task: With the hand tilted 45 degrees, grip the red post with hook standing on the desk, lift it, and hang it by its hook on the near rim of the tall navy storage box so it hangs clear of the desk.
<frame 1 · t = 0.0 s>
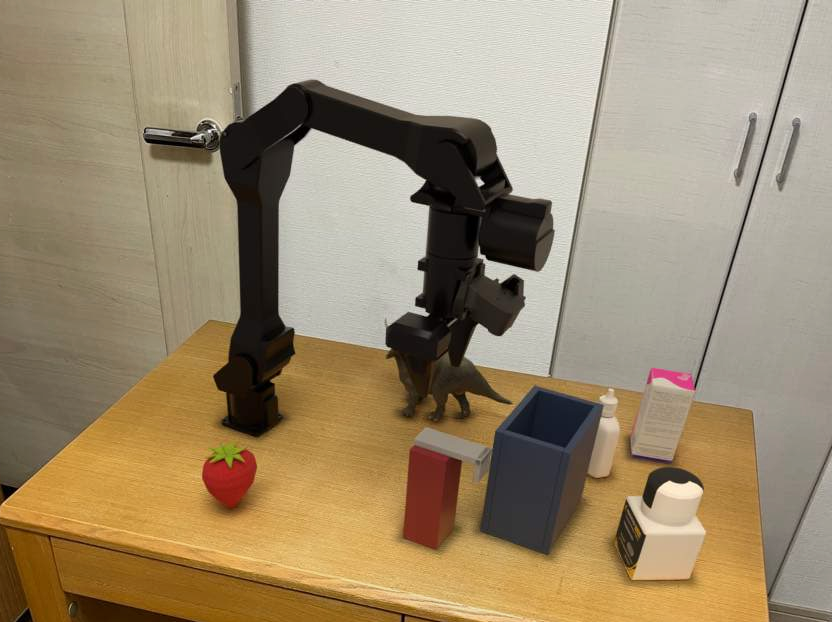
hand: (439, 381, 97), 15 cm above the table, tool pointing down, fingers open, 9 cm apart
strawberry: (233, 507, 99), on the table
red post with hook: (428, 532, 97), on the table
supplement box: (650, 452, 115), on the table
toy dinosaur: (435, 413, 120), on the table
medicine bottle: (649, 562, 95), on the table
storage box: (531, 515, 101), on the table
eye dropper bottle: (591, 469, 111), on the table
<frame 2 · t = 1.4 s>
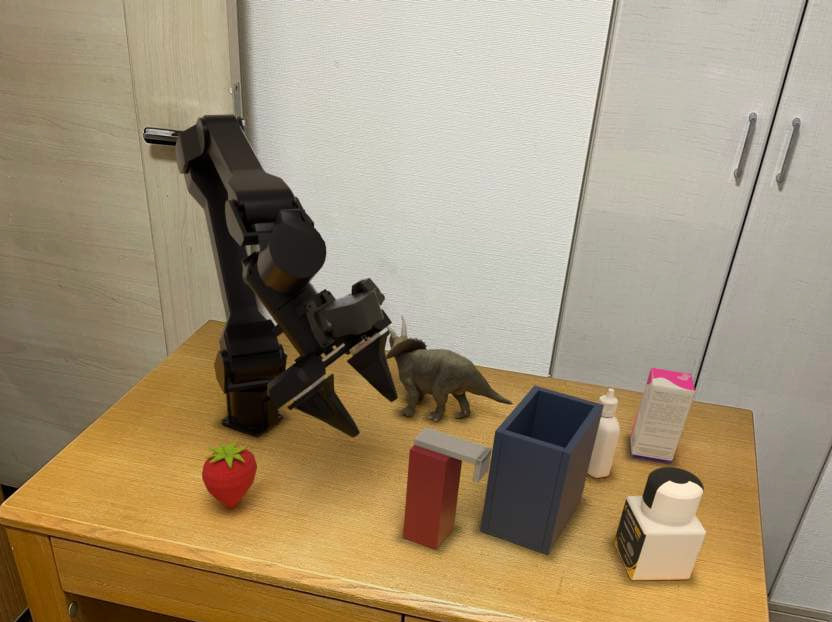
hand: (376, 417, 92), 13 cm above the table, tool tilted 45°, fingers open, 9 cm apart
nothing on the table moved.
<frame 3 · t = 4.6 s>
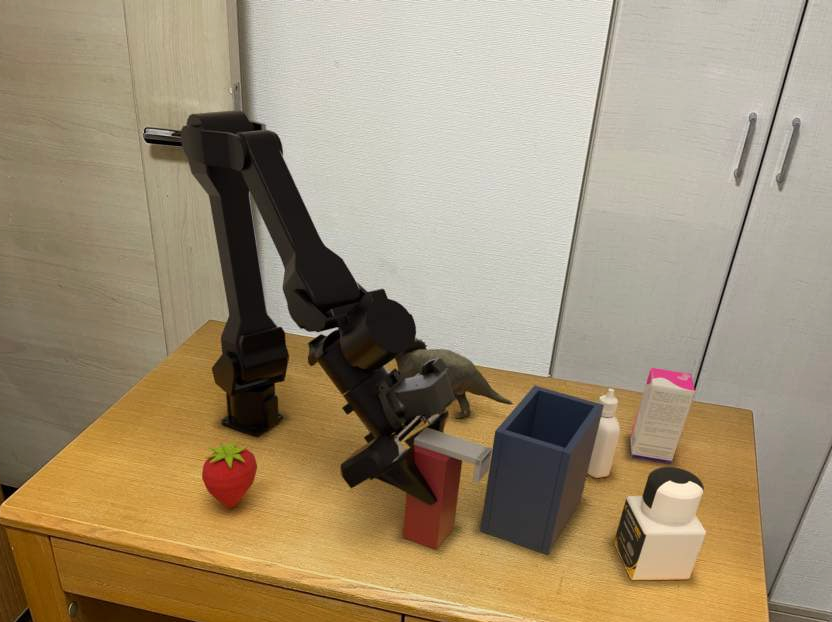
hand: (443, 492, 93), 7 cm above the table, tool tilted 45°, fingers closed on red post with hook, 5 cm apart
red post with hook: (428, 532, 97), on the table, touching gripper
everything else where it was.
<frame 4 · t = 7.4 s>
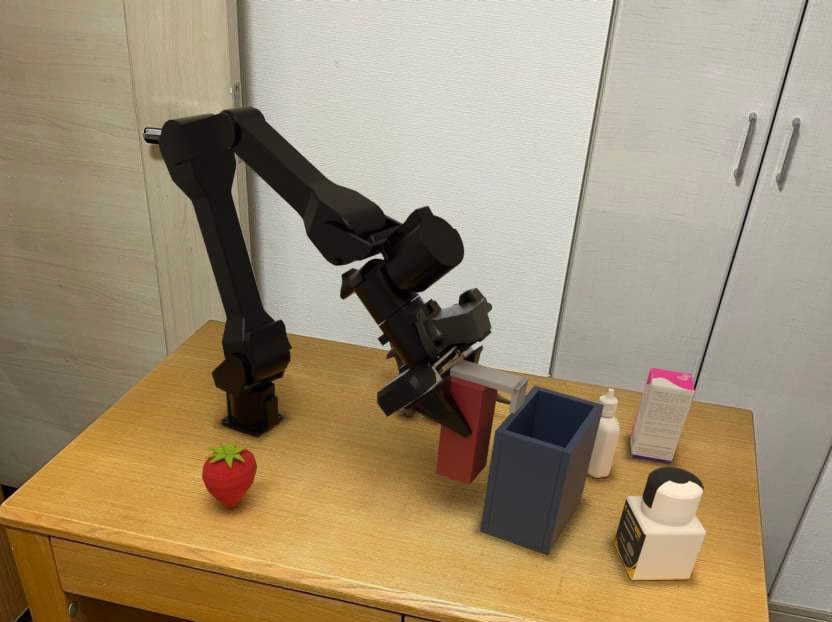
hand: (478, 425, 92), 13 cm above the table, tool tilted 45°, fingers closed on red post with hook, 5 cm apart
red post with hook: (461, 469, 97), point 6 cm above the table, touching gripper
everything else where it was.
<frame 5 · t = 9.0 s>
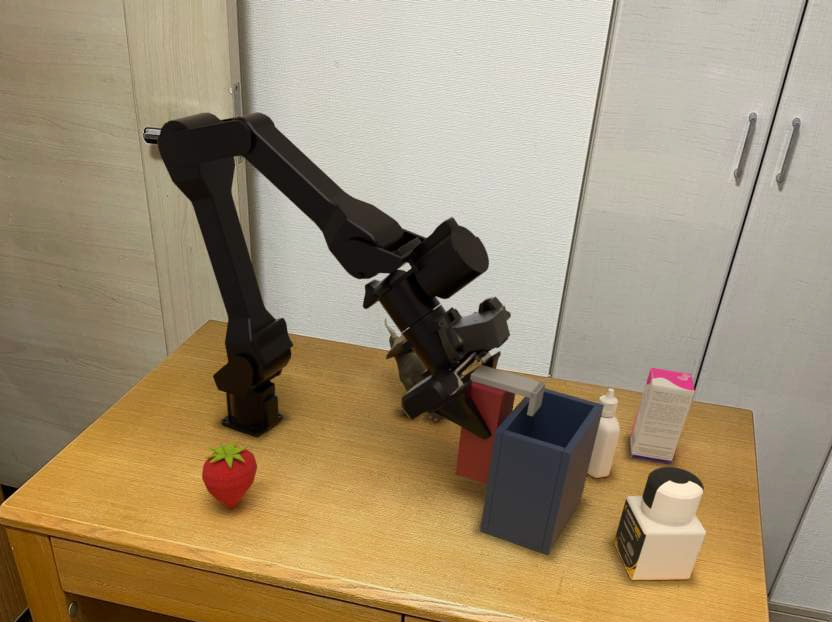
hand: (496, 428, 96), 11 cm above the table, tool tilted 45°, fingers closed on red post with hook, 5 cm apart
red post with hook: (479, 470, 101), point 4 cm above the table, touching gripper
everything else where it was.
when the fingers open (8 cm above the table, at t = 10.3 s): red post with hook stays where it is, resting on storage box.
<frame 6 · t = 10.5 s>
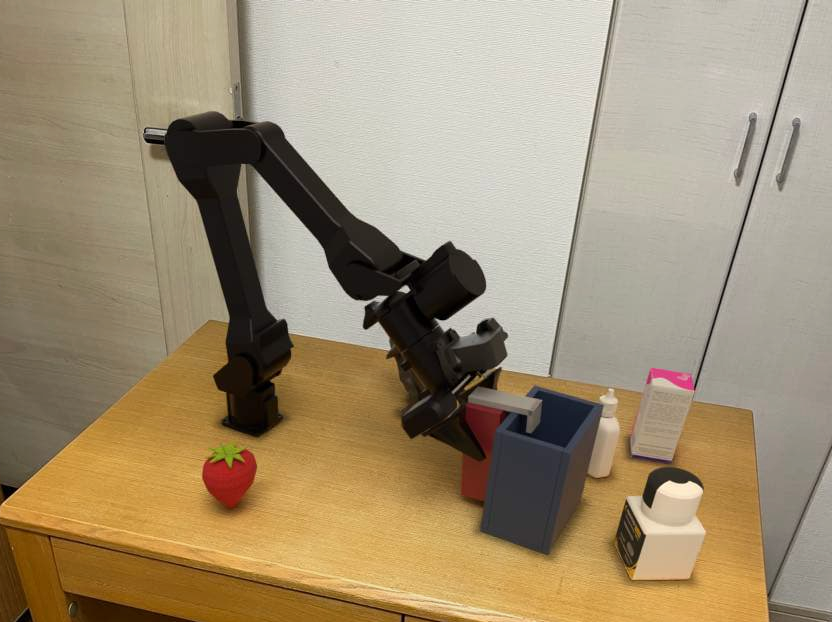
hand: (494, 445, 98), 8 cm above the table, tool tilted 45°, fingers open, 7 cm apart
red post with hook: (484, 489, 102), point 1 cm above the table, touching storage box
everything else where it was.
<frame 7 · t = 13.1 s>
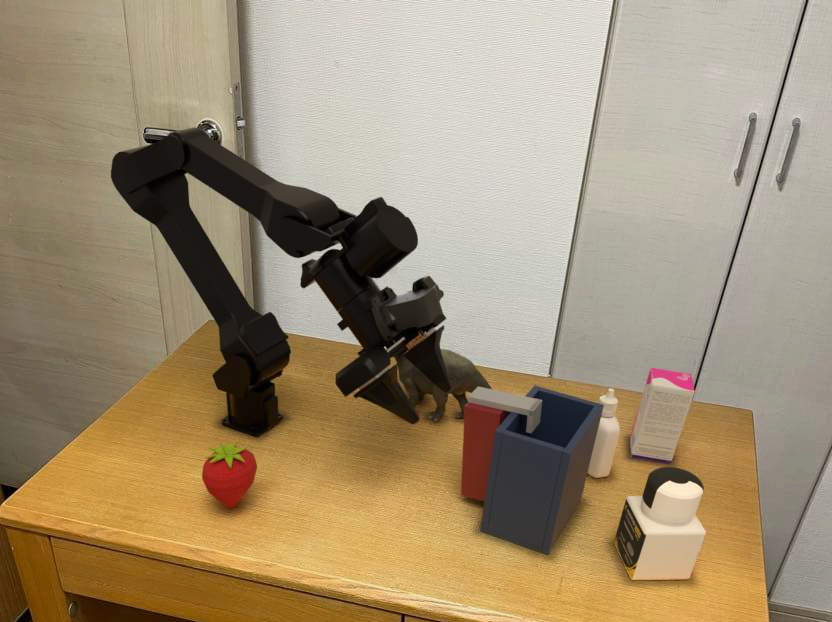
hand: (433, 406, 98), 12 cm above the table, tool tilted 45°, fingers open, 9 cm apart
nothing on the table moved.
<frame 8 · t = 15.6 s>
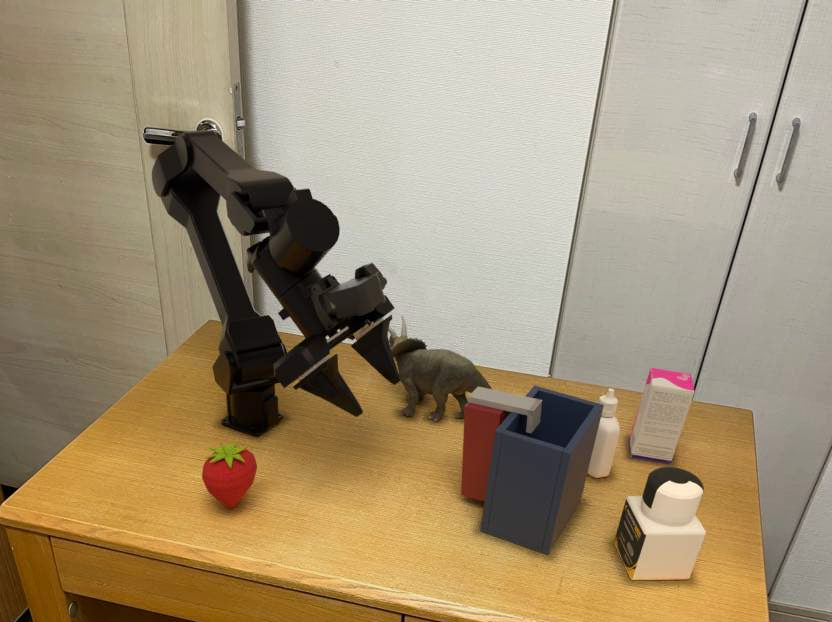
hand: (379, 398, 95), 14 cm above the table, tool tilted 45°, fingers open, 9 cm apart
nothing on the table moved.
at the end: red post with hook inside the target area on the table beside the storage box (0.2 cm from its centre), point 1.5 cm above the table; red post with hook touching storage box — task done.
